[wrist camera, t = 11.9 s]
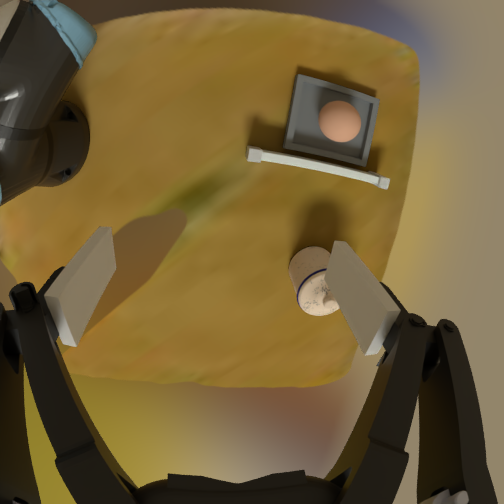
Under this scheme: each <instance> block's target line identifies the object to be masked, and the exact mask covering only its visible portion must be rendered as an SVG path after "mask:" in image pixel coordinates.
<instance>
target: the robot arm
mask: <svg viewBox="0 0 504 504" xmlns="http://www.w3.org/2000/svg"><path fill="white" fill-rule="evenodd" d="M96 40H97V33H96V31H95V29H94V28H93V27H92V26H91V25H90V24H89V23H88V22H87V21H86V20H85V19H84V18H82V17H81V16H80V15H78V14H77V13H76V12H75V11H73V10H72V9H70V8H69V7H67V6H66V5H64V4H62V3H60V2H58V1H57V0H29V2H26V1H23V0H13V1H11V2H9V3H7V4H5V5H3V6H1V7H0V206H1V205H3V204H5V203H6V202H8V201H10V200H11V199H13V198H15V197H16V196H18V195H20V194H22V193H23V192H25V191H27V190H29V189H31V188H32V187H34V186H43V187H54V186H58V185H61V184H63V183H65V182H67V181H69V180H70V179H72V178H73V177H74V176H75V175H76V174H77V173H78V172H79V171H80V169H81V168H82V166H83V164H84V162H85V160H86V157H87V154H88V150H89V142H90V134H89V127H88V123H87V120H86V118H85V116H84V114H83V113H82V111H81V110H80V109H79V108H78V107H77V106H76V105H74V104H73V103H70V102H67V101H60V100H61V98H62V97H63V95H64V93H65V91H66V90H67V88H68V86H69V85H70V83H71V81H72V80H73V78H74V76H75V75H76V73H77V72H78V70H79V69H81V68H82V66H83V62H84V60H85V59H86V57H87V56H88V54H89V53H90V51H91V50H92V48H93V47H94V45H95V43H96ZM115 270H116V263H115V256H114V248H113V239H112V229H111V227H99V228H98V229H97V230H96V231H95V233H94V234H93V235H92V236H91V237H90V238H89V239H88V240H87V242H86V243H85V244H84V245H83V246H82V247H81V249H80V250H79V251H78V252H77V253H76V254H75V256H74V257H73V258H72V259H71V261H70V262H69V263H68V264H67V265H66V267H63V266H62V267H60V268H59V269H57V270H56V271H54V273H53V274H52V275H51V276H50V279H48V280H47V281H46V284H44V285H43V287H42V288H41V289H40V291H39V292H38V293H36V290H35V287H34V285H33V284H32V283H30V282H23V283H20V284H17V285H16V286H14V287H13V288H12V289H11V291H10V293H9V297H10V300H11V302H12V305H13V307H14V310H9V311H5V308H4V306H3V304H2V303H0V504H41V500H40V496H39V491H38V487H37V483H36V480H35V475H34V471H33V466H32V461H31V456H30V451H29V444H28V437H27V429H26V419H25V407H24V374H23V373H24V372H23V371H24V363H25V368H26V372H27V376H28V379H29V383H30V386H31V389H32V393H33V396H34V400H35V403H36V406H37V409H38V412H39V414H40V417H41V420H42V422H43V425H44V428H45V430H46V433H47V435H48V437H49V440H50V442H51V444H52V446H53V448H54V451H55V453H56V456H57V458H56V459H55V464H56V467H57V469H58V471H59V473H60V475H61V477H62V479H63V481H64V483H65V484H66V486H67V488H68V490H69V491H70V493H71V495H72V496H73V498H74V500H75V502H76V503H77V504H392V503H393V501H394V498H395V496H396V494H397V491H398V489H399V486H400V483H401V481H402V478H403V475H404V472H405V469H406V466H407V463H408V459H409V454H408V453H407V452H405V451H404V448H405V445H406V441H407V438H408V434H409V431H410V427H411V423H412V419H413V415H414V410H415V406H416V402H417V397H418V396H419V397H418V398H419V427H420V428H419V437H420V439H419V440H420V441H419V465H418V479H417V504H498V502H497V498H496V495H495V491H494V487H493V484H492V480H491V477H490V474H489V470H488V468H487V463H486V450H485V440H484V432H483V425H482V418H481V413H480V407H479V402H478V397H477V393H476V388H475V384H474V380H473V376H472V372H471V368H470V365H469V361H468V357H467V354H466V351H465V348H464V345H463V341H462V338H461V335H460V332H459V330H458V328H457V326H456V325H455V324H454V323H453V322H452V321H450V320H447V319H441V320H440V321H439V322H438V324H437V326H430V325H427V323H426V322H425V320H424V319H423V318H422V317H420V316H418V315H416V314H413V313H408V312H407V310H406V309H405V308H404V307H403V305H402V304H401V303H400V301H399V300H398V299H397V297H396V296H395V295H394V294H393V292H392V291H391V290H390V289H389V287H387V286H386V285H385V284H383V283H382V282H379V281H378V280H377V279H376V278H375V276H374V275H373V274H372V273H371V271H370V270H369V269H368V268H367V266H366V265H365V264H364V263H363V262H362V260H361V259H360V258H359V257H358V256H357V254H356V253H355V252H354V251H353V250H352V248H351V247H350V246H349V245H348V244H347V243H346V241H334V245H333V248H332V252H331V256H330V259H329V263H328V266H327V270H326V273H325V277H324V280H325V282H326V284H327V286H328V287H329V289H330V291H331V293H332V295H333V296H334V298H335V300H336V302H337V304H338V306H339V307H340V309H341V311H342V313H343V315H344V317H345V319H346V321H347V322H348V324H349V326H350V328H351V330H352V332H353V334H354V336H355V338H356V340H357V342H358V344H359V345H360V348H361V349H362V351H363V353H364V355H372V354H377V353H378V352H379V350H380V348H381V347H382V345H383V346H384V348H385V350H386V351H385V352H384V354H383V356H382V357H381V359H380V361H379V362H378V364H377V366H379V368H378V370H377V373H376V376H375V379H374V381H373V384H372V387H371V389H370V392H369V394H368V397H367V399H366V402H365V404H364V406H363V409H362V411H361V413H360V416H359V418H358V420H357V422H356V425H355V427H354V429H353V431H352V433H351V435H350V437H349V439H348V441H347V443H346V445H345V447H344V449H343V451H342V453H341V455H340V457H339V459H338V460H337V462H336V464H335V465H334V467H333V468H332V469H331V471H330V472H329V473H328V474H327V476H326V477H325V478H324V479H321V478H317V477H313V476H306V475H305V471H304V470H299V471H292V472H284V473H275V474H270V475H267V476H264V477H261V478H258V479H254V480H251V481H247V482H244V483H239V484H238V483H231V482H226V481H221V480H216V479H212V478H208V477H204V476H192V475H179V474H168V479H164V480H159V481H155V482H151V483H149V484H146V485H144V486H142V487H140V488H138V487H137V486H136V485H135V484H134V482H133V481H132V480H131V479H130V477H129V476H128V475H127V474H126V473H125V471H124V470H123V469H122V468H121V466H120V465H119V463H118V462H117V461H116V459H115V458H114V456H113V455H112V453H111V452H110V450H109V449H108V447H107V445H106V444H105V442H104V441H103V439H102V437H101V436H100V434H99V432H98V430H97V429H96V427H95V426H94V423H93V422H92V420H91V419H90V416H89V414H88V412H87V411H86V409H85V407H84V405H83V403H82V401H81V399H80V397H79V395H78V392H77V390H76V388H75V386H74V384H73V382H72V379H71V377H70V375H69V372H68V370H67V368H66V365H65V363H64V360H63V358H62V355H61V352H60V350H59V347H58V345H57V342H56V340H57V338H58V336H60V338H61V340H62V343H63V344H65V345H70V346H74V347H77V345H78V343H79V341H80V339H81V336H82V334H83V332H84V330H85V328H86V326H87V323H88V321H89V319H90V317H91V315H92V313H93V311H94V309H95V307H96V305H97V303H98V301H99V299H100V297H101V296H102V294H103V292H104V290H105V288H106V286H107V284H108V282H109V280H110V279H111V277H112V275H113V273H114V272H115ZM439 362H440V363H439Z"/></svg>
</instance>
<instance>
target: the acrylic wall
mask: <svg viewBox="0 0 504 504" xmlns="http://www.w3.org/2000/svg"><path fill="white" fill-rule="evenodd" d="M246 159H247V161H252V162H259V163H260V162H261V160H263V161H269V162H275V163H281V164H287V165H292V166H298V167H303V168H308V169H313V170H318V171H323V172H328V173H332V174H337V175H341V176H345V177H349V178H354V179H358V180H362V181H366V182H370V183H372V184H374V185H375V186H377V187H380V188H383V189H388V185H389V182H390V179H389V178H387V177H384V176H382V175H380V174H378V173H375V172H372V171H368V172H365V171H361V170H358V169H354V168H350V167H346V166H342V165H338V164H333V163H329V162H325V161H320V160H316V159H311V158H306V157H301V156H296V155H291V154H285V153H280V152H274V151H268V150H262V149H261V148H259V147H255V146H248V145H247V151H246Z"/></svg>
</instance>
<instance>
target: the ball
mask: <svg viewBox="0 0 504 504" xmlns="http://www.w3.org/2000/svg"><path fill="white" fill-rule="evenodd" d="M318 122H319V127H320V129H321V131H322V132H323V134H324V135H325V136H326V137H328V138H329V139H331V140H333V141H336V142H346V141H350V140H352V139H353V138H354V137H356V136H357V134H358V133H359V131H360V128H361V118H360V115H359V113H358V111H357V110H356V109H355V108H354V107H353V106H352V105H351V104H349V103H347V102H344V101H332V102H329V103H327V104H326V105H325V106H324V107H323V108H322V109H321V111H320V113H319V117H318Z"/></svg>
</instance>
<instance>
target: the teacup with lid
mask: <svg viewBox="0 0 504 504" xmlns="http://www.w3.org/2000/svg"><path fill="white" fill-rule="evenodd" d="M330 256H331V254H330V253H329V252H328V251H327V250H325V249H324V248H321V247H314V246H313V247H307V248H305V249H302V250H301V251H299V252H298V253H297V254H296V255H295V256H294V257H293V258H292V260H291V262H290V265H289V275H290V278H291V281H292V283H293V286H294V289H295V292H296V294H297V301H298V304H299V306H300V307H301V308H302V309H303V310H304V311H305V312H307V313H309V314H311V315H316V316H321V315H327V314H330V313H332V312H334V311H336V310H337V309H339V308H340V307H339V306H338V304H337V302H336V300H335V298H334V296H333V295H332V293H331V291H330V289H329V287H328V286H327V284H326V282H325V280H324V277H325V273H326V270H327V266H328V263H329V259H330Z"/></svg>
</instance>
